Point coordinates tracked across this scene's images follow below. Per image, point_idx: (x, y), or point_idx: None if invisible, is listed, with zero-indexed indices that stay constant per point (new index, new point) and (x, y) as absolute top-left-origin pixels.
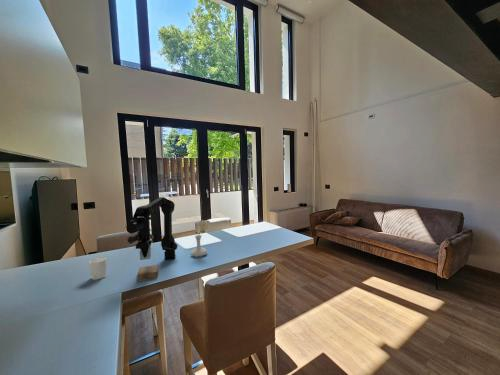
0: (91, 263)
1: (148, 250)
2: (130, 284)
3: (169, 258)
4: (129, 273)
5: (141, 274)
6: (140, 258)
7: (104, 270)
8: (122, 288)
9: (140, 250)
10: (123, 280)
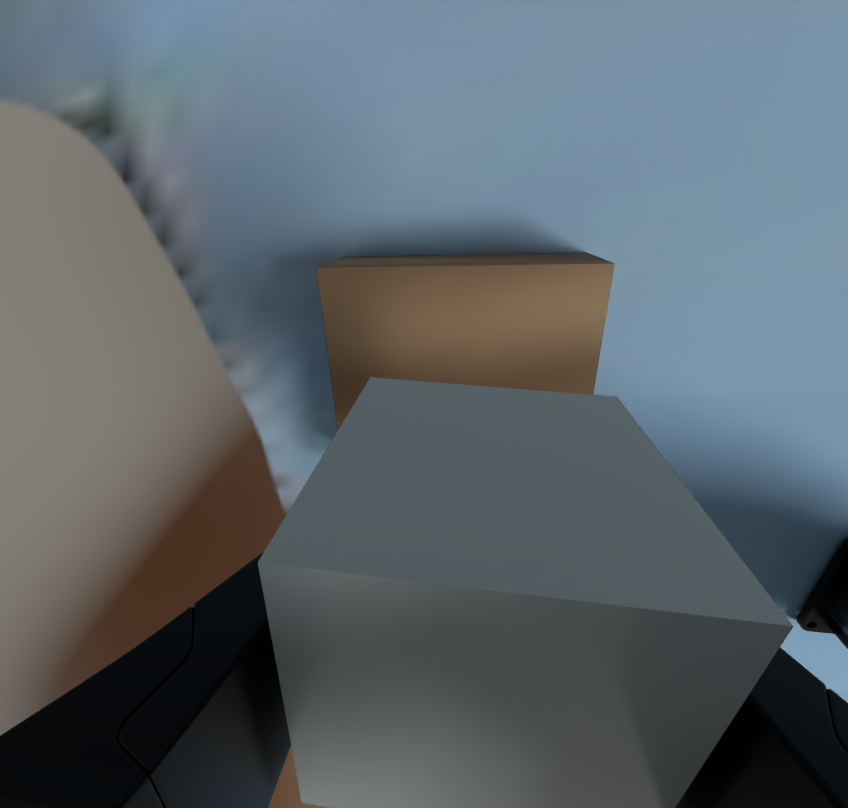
0: None
1: (299, 775)
2: (284, 177)
3: (840, 585)
4: (696, 67)
5: (326, 324)
6: (361, 404)
7: None
8: (198, 85)
9: (387, 592)
10: (448, 24)
